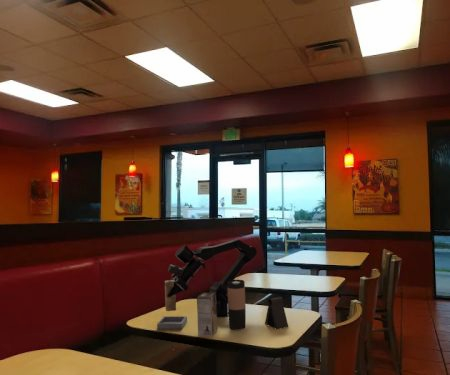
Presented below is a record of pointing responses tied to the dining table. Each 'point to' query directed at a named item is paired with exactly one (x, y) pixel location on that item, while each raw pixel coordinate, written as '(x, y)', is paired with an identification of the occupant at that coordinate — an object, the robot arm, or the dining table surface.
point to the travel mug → (236, 304)
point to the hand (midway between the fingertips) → (167, 295)
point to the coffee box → (207, 314)
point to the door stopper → (276, 313)
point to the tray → (172, 323)
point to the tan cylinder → (169, 301)
